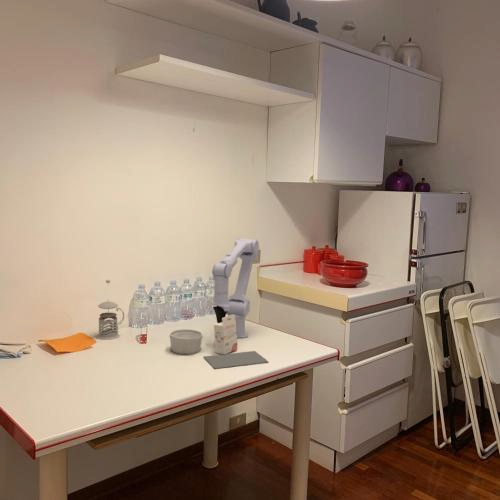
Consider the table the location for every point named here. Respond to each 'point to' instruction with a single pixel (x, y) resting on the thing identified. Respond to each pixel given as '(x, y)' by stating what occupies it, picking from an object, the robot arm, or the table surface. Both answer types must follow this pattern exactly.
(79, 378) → the table surface
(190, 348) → the ramekin
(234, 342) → the ink cartridge box
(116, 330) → the french press
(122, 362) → the table surface
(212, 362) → the mat
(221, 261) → the robot arm
